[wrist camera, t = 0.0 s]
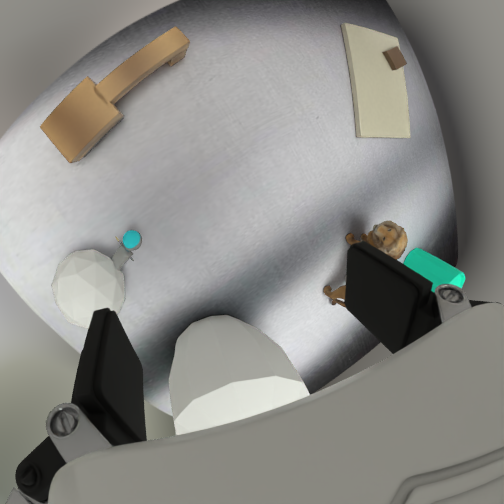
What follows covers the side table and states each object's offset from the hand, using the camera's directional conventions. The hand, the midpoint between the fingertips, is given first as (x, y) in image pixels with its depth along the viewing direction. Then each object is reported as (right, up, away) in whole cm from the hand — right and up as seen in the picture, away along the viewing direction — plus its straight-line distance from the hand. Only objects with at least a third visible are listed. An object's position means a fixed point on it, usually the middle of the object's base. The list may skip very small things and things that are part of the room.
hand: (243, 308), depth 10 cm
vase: (-5, -9, +25) cm, 27 cm away
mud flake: (+20, +29, +16) cm, 38 cm away
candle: (+29, 0, +33) cm, 44 cm away
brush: (-12, +18, +11) cm, 24 cm away
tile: (+17, +25, +18) cm, 35 cm away
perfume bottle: (-16, +1, +17) cm, 23 cm away
